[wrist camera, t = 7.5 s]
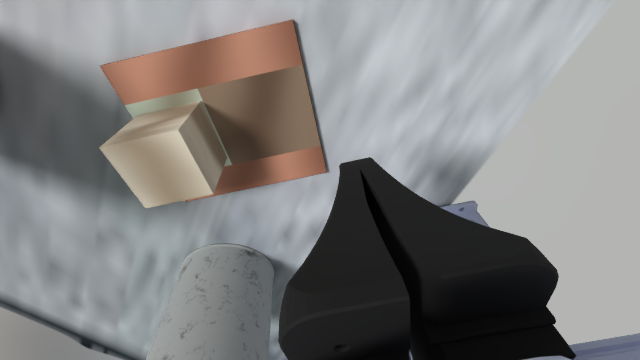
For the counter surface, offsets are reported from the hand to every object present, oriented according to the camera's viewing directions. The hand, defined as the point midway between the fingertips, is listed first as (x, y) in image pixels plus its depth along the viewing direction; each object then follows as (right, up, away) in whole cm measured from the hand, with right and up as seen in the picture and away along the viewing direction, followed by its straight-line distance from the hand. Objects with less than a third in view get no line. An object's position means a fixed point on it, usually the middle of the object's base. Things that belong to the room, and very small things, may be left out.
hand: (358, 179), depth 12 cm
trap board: (-8, +4, +8) cm, 12 cm away
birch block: (-11, +3, +8) cm, 14 cm away
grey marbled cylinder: (-11, -10, +18) cm, 23 cm away
